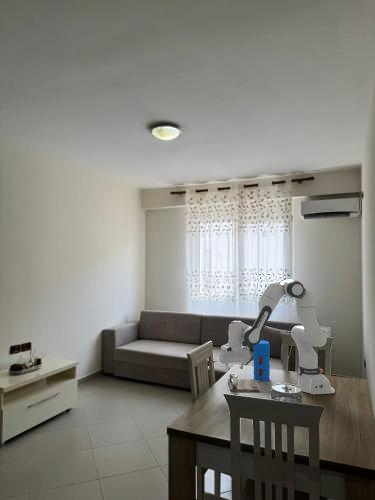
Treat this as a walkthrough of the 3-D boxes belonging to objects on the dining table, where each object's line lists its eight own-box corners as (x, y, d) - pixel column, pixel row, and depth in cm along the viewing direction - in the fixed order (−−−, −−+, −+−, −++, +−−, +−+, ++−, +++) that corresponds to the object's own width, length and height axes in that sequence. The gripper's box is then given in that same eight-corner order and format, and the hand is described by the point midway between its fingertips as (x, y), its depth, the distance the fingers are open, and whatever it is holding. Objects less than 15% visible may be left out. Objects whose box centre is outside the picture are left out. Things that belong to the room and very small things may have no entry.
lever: (229, 378, 233) (229, 367, 234) (235, 378, 233) (235, 368, 234) (232, 388, 215) (232, 376, 215) (238, 388, 215) (238, 376, 215)
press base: (254, 381, 233) (254, 378, 234) (259, 392, 214) (259, 388, 215) (227, 381, 234) (227, 378, 234) (230, 391, 215) (230, 388, 215)
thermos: (252, 380, 236) (252, 343, 237) (254, 375, 247) (254, 339, 248) (269, 382, 233) (269, 344, 234) (270, 377, 243) (270, 341, 244)
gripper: (246, 344, 224) (246, 366, 223) (218, 346, 217) (218, 369, 216) (252, 347, 218) (251, 369, 218) (223, 349, 211) (222, 372, 210)
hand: (234, 369), depth 217 cm, fingers open, 8 cm apart
